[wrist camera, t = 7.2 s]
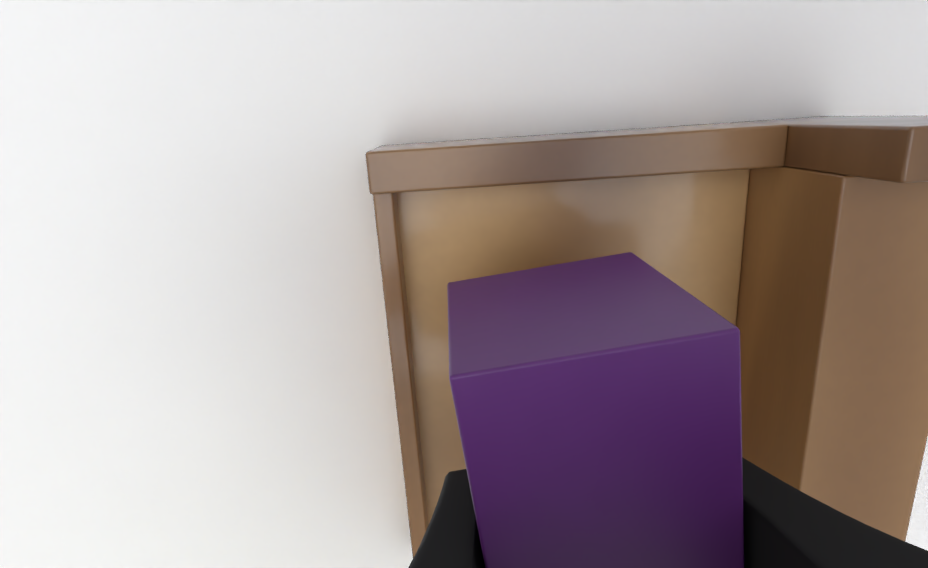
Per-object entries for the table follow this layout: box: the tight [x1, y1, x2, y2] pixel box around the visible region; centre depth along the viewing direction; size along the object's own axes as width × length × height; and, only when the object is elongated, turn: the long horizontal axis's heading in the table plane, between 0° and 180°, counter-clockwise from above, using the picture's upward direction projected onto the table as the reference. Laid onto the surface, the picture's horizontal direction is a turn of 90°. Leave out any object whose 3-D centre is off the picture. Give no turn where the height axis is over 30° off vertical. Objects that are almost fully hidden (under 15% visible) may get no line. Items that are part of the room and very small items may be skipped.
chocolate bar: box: [447, 252, 744, 568], centre depth 11 cm, size 4×9×4 cm, turn 9°
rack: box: [366, 116, 928, 558], centre depth 15 cm, size 13×14×6 cm
